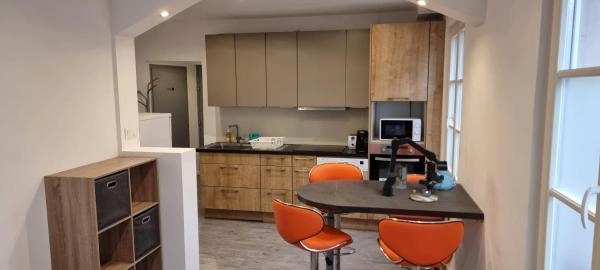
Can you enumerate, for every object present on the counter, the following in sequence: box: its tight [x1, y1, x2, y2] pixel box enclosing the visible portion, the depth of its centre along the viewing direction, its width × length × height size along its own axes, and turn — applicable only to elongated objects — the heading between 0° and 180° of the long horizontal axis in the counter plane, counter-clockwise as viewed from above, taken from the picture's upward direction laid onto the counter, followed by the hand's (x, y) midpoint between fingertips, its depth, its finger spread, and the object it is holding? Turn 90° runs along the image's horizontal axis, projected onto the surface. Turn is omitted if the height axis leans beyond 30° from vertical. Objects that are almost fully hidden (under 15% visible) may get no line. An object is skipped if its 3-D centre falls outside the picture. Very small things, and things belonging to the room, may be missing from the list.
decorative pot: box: [433, 171, 457, 191], centre depth 295 cm, size 16×16×14 cm
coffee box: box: [392, 165, 408, 190], centre depth 297 cm, size 9×6×16 cm
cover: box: [420, 188, 432, 197], centre depth 267 cm, size 6×6×4 cm
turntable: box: [409, 189, 439, 203], centre depth 266 cm, size 18×18×4 cm
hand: (430, 193), depth 270 cm, fingers closed
